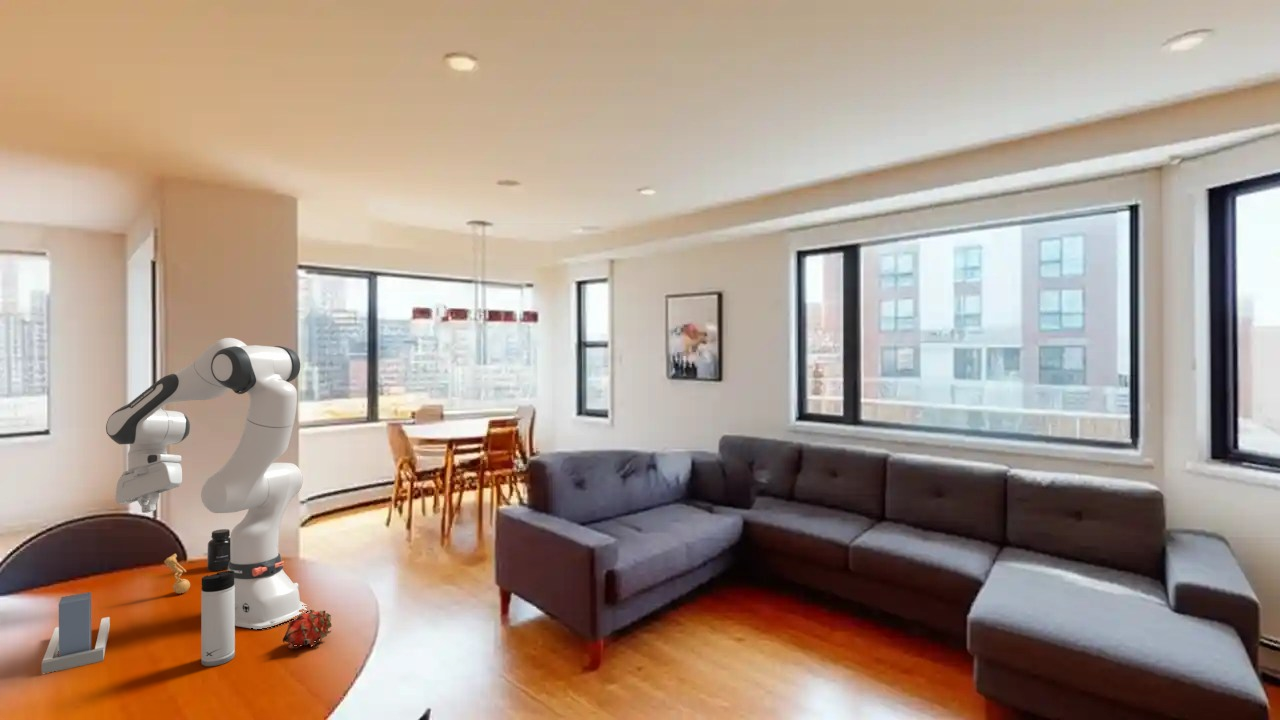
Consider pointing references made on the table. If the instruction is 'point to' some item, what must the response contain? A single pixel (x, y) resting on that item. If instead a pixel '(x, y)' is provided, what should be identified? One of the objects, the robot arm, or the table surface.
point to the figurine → (180, 584)
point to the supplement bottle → (219, 550)
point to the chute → (77, 659)
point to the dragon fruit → (307, 628)
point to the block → (74, 624)
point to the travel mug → (218, 618)
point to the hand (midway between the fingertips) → (148, 511)
